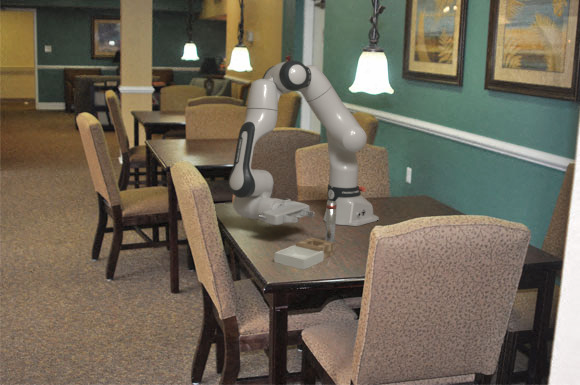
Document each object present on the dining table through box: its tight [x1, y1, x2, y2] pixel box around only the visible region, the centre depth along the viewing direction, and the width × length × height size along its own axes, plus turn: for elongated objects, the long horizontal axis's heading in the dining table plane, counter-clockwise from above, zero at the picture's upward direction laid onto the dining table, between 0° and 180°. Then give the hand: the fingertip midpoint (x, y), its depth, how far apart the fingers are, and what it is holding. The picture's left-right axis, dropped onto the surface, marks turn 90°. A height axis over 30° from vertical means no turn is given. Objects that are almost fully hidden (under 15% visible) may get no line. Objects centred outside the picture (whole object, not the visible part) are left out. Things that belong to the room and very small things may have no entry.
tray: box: [273, 244, 324, 271], centre depth 205 cm, size 11×11×3 cm
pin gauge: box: [324, 200, 337, 246], centre depth 218 cm, size 3×3×16 cm
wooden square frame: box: [295, 237, 335, 260], centre depth 212 cm, size 9×9×4 cm
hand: (305, 217), depth 224 cm, fingers open, 8 cm apart
